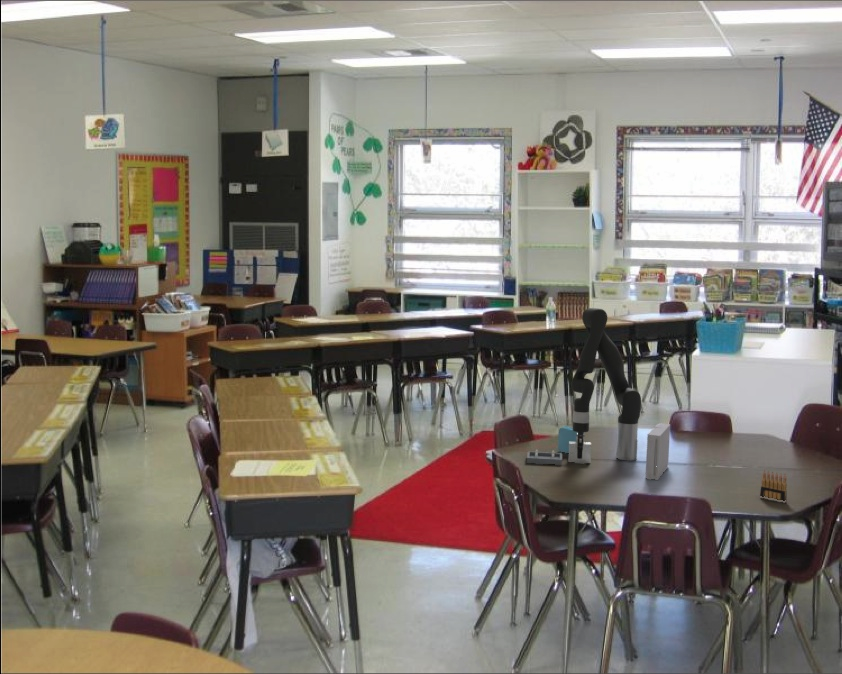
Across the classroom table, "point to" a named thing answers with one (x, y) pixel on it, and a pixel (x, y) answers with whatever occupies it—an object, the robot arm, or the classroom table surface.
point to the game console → (657, 451)
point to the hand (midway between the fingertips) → (579, 456)
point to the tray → (544, 458)
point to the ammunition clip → (773, 486)
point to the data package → (566, 438)
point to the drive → (585, 453)
